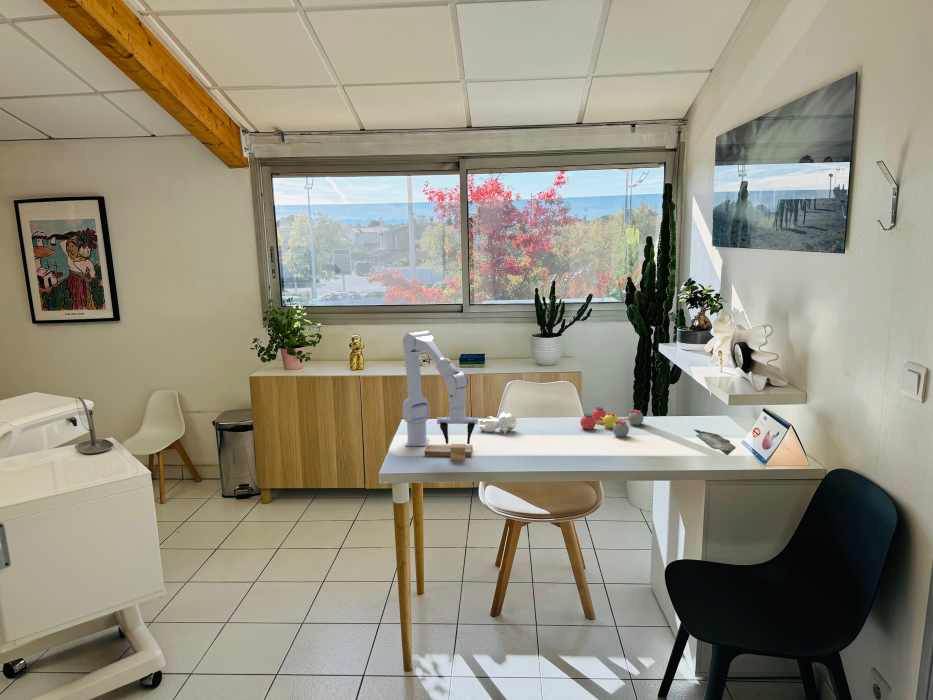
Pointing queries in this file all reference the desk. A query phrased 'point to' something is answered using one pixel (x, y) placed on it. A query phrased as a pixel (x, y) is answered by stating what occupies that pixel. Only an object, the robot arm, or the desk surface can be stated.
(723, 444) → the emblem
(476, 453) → the desk surface
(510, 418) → the figurine
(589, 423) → the molecule model
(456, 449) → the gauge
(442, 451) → the board
